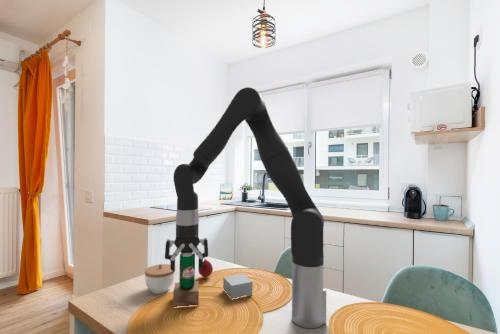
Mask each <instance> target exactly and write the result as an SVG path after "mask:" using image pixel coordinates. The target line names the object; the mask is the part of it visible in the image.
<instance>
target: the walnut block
mask: <svg viewBox="0 0 500 334" xmlns="http://www.w3.org/2000/svg"><path fill="white" fill-rule="evenodd" d="M199 289H200V288H199V280H198V281H197V280H196V281H195V285H194V286H193V288H191V289H181V288H180V286H179V282H175V283H174V287H173V291H172V292H173V293H172V294H173V299H172V304H173V305H172V308H173V307H177V306H189V305H198V306H199Z"/></svg>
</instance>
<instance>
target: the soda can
mask: <svg viewBox="0 0 500 334" xmlns="http://www.w3.org/2000/svg"><path fill="white" fill-rule="evenodd" d="M195 275H196V254H195V253H194V251H193V252H190V253H186V252H183V253H182V252H180V253H179V276H178V277H179V278H178V279H179V282H178V283H179V286H180V288H181V289H191V288H193V286H194V285H195V280H196V276H195Z"/></svg>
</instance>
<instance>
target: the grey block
mask: <svg viewBox="0 0 500 334" xmlns="http://www.w3.org/2000/svg"><path fill="white" fill-rule="evenodd" d="M222 283H223V286H222V289H223V288H224V290H225V291H226V292H227V294H228V295H229V296H230V297H231V299H232V298H237V297H241V296H244V295H247V296H249V297H252V296H253V281H252V280H251V279H250V278H249V277H247V276H246V275H245V274H244V273H240V274H235V275H229V276H228V275H227V276H223V282H222ZM231 299H230V300H231Z"/></svg>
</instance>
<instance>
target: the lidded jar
mask: <svg viewBox="0 0 500 334" xmlns="http://www.w3.org/2000/svg"><path fill="white" fill-rule="evenodd" d="M175 275H176V271H175V272H172V270H171V269H170V264H167V263H166V264H165V263H163V264H162V263H160V264H156V265H150V266H148V267H146V269H145V271H144V280H145V285H146V287H147V289H148V290H149V291H150V292H151V293H153V294H156V295H157V294H163V293H166V292H167V291H169V289H170V288H171V287H172V286H173V283H174V281H175Z"/></svg>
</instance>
